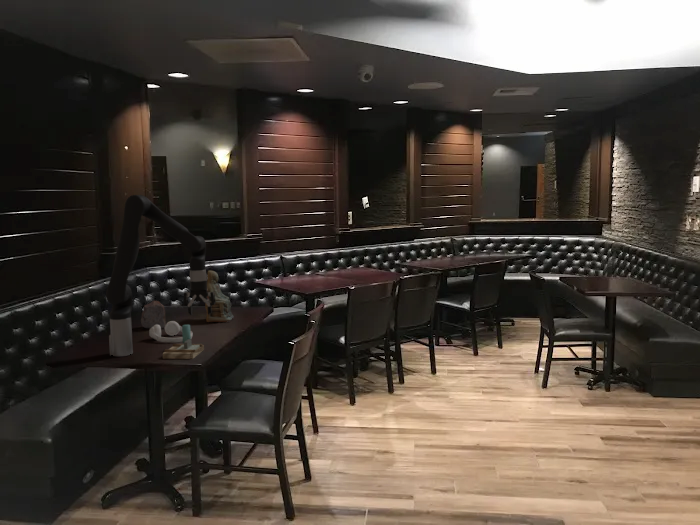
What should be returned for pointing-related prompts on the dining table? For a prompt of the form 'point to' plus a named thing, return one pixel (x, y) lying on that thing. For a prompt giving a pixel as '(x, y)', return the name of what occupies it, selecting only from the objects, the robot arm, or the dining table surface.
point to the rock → (153, 315)
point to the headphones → (170, 329)
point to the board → (182, 352)
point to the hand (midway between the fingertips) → (200, 314)
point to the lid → (189, 345)
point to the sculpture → (217, 301)
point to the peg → (186, 332)
